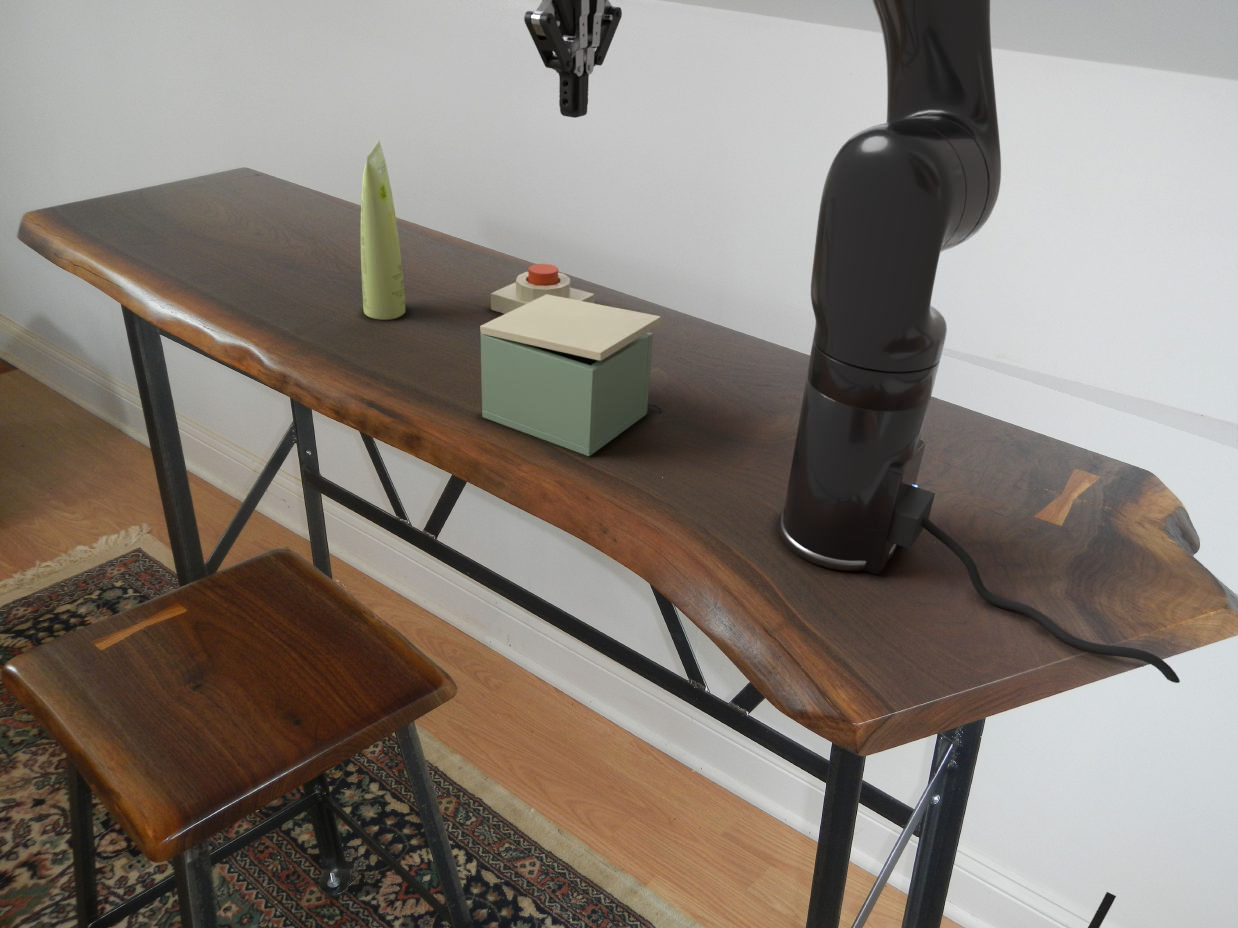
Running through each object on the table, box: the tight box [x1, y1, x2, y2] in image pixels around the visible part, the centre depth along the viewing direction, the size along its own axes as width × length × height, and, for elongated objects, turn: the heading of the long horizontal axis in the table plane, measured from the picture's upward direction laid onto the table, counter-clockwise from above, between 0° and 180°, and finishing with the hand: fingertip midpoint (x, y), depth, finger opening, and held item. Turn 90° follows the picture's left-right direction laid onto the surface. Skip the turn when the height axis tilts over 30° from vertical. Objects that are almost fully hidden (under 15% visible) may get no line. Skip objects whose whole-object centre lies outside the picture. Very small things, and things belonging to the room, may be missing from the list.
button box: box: [490, 271, 596, 315], centre depth 117 cm, size 10×8×4 cm
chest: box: [480, 331, 654, 457], centre depth 93 cm, size 13×11×9 cm
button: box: [527, 263, 559, 286], centre depth 116 cm, size 4×4×2 cm
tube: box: [360, 139, 406, 321], centre depth 110 cm, size 6×5×20 cm
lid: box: [479, 294, 662, 361], centre depth 90 cm, size 13×11×1 cm
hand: (573, 115), depth 92 cm, fingers closed
